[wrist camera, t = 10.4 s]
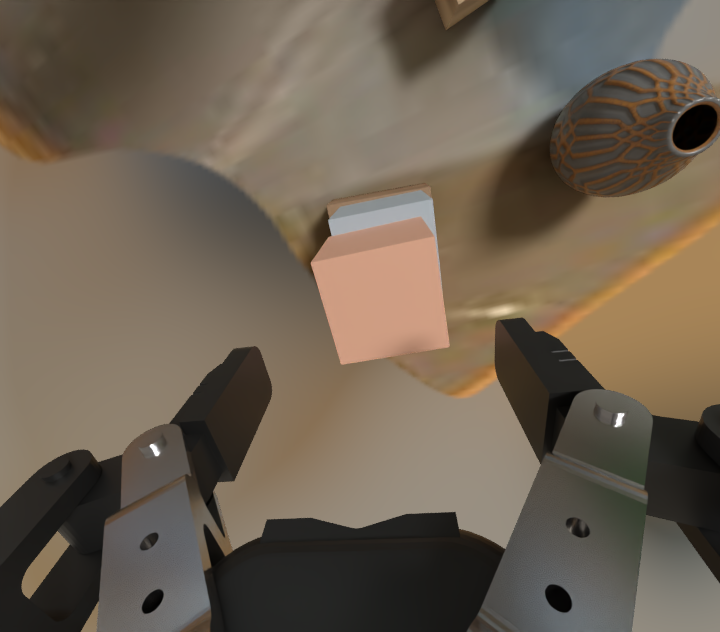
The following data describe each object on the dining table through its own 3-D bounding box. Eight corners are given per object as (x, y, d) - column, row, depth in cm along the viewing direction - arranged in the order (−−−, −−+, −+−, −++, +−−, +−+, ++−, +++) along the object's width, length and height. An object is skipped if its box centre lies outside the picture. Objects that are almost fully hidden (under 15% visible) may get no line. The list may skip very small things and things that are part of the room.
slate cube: (340, 206, 23) (327, 220, 18) (421, 189, 22) (432, 198, 17) (356, 282, 25) (349, 312, 20) (430, 269, 24) (443, 297, 19)
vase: (531, 198, 24) (602, 219, 17) (537, 88, 22) (625, 50, 14) (633, 181, 24) (759, 195, 16) (653, 64, 21) (819, 9, 13)
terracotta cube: (328, 236, 18) (310, 262, 13) (420, 216, 17) (434, 236, 13) (350, 318, 20) (341, 364, 15) (433, 303, 19) (449, 347, 15)
